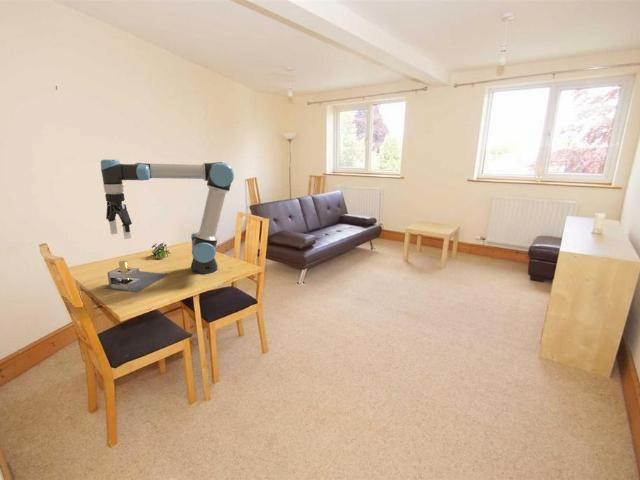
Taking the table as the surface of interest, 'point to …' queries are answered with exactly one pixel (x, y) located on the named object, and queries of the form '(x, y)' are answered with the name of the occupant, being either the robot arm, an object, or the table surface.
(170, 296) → the table surface
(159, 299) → the table surface
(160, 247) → the passion flower
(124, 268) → the pin
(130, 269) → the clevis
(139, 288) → the mat
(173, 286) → the table surface
